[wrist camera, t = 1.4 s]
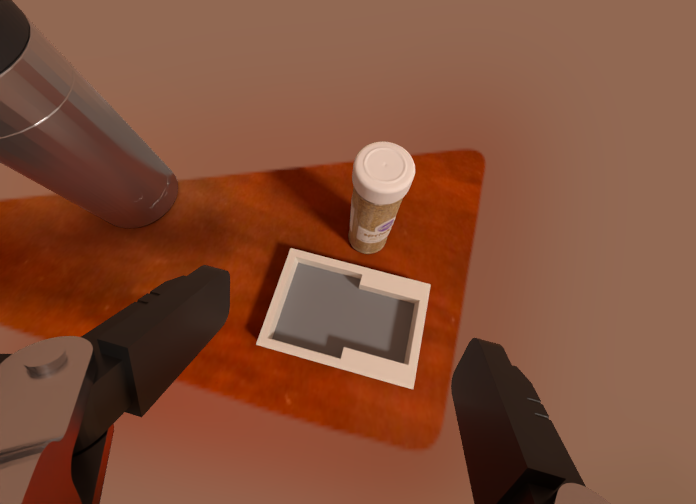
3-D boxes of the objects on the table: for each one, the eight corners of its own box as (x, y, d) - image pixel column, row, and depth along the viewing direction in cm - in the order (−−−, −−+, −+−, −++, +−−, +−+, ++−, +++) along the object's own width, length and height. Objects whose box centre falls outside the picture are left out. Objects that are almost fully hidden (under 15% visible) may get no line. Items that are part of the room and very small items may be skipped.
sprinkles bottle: (368, 262, 31) (388, 203, 19) (339, 237, 32) (340, 164, 20) (394, 236, 33) (429, 163, 20) (366, 212, 34) (382, 128, 21)
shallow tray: (262, 345, 28) (255, 344, 26) (294, 255, 31) (290, 247, 29) (406, 386, 27) (413, 389, 25) (423, 289, 31) (430, 284, 28)
